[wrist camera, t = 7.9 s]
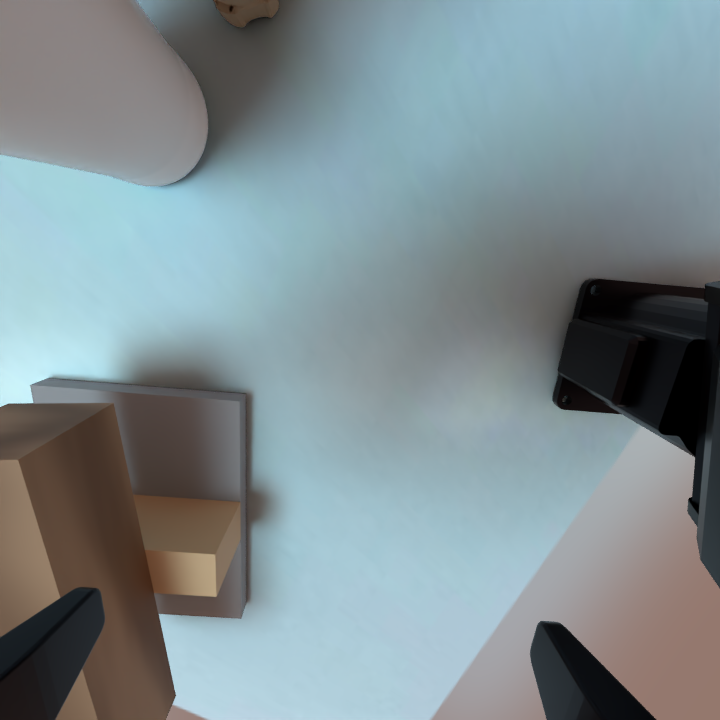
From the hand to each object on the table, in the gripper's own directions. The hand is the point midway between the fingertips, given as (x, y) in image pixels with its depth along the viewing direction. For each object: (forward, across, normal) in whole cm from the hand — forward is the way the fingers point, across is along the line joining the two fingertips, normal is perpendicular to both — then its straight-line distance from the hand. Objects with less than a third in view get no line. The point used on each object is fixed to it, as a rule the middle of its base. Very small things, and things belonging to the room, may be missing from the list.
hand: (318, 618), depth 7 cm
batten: (+7, +10, +7) cm, 14 cm away
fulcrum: (+11, +10, +7) cm, 17 cm away
